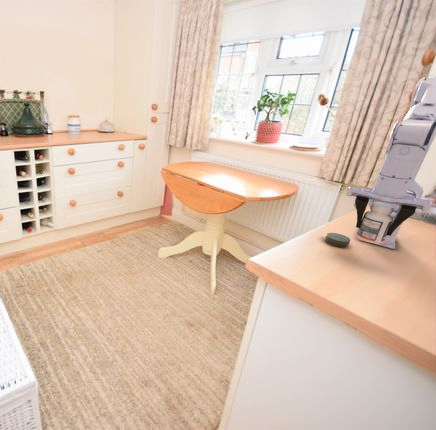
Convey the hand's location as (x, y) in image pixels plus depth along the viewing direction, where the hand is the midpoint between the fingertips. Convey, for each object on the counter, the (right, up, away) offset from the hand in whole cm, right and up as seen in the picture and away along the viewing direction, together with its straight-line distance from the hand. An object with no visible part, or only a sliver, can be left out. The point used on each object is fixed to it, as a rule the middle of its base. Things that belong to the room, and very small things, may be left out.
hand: (372, 230), depth 70 cm
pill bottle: (0, -2, +1) cm, 3 cm away
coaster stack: (+1, -4, +13) cm, 14 cm away
